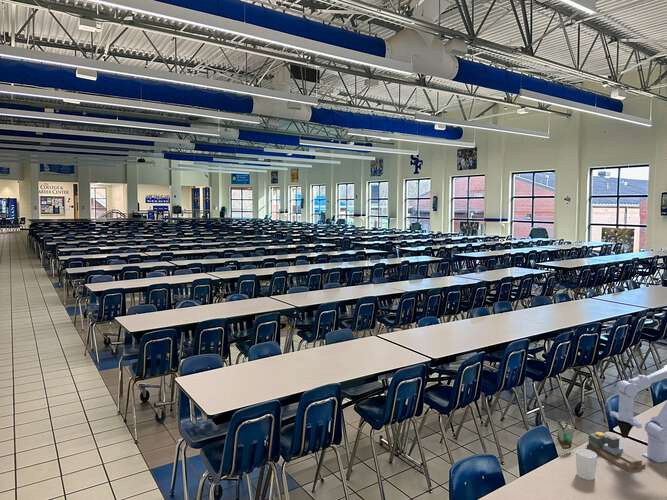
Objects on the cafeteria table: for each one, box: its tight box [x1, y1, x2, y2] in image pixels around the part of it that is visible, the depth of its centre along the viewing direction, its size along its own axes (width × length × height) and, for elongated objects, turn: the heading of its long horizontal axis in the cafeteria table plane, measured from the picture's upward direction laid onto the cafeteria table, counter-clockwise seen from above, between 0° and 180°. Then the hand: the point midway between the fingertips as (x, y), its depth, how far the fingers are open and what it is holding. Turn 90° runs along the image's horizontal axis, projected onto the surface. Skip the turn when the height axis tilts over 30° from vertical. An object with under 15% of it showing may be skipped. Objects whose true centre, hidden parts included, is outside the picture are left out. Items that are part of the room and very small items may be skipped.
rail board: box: [586, 431, 646, 472], centre depth 218 cm, size 10×22×6 cm, turn 18°
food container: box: [556, 419, 576, 450], centre depth 229 cm, size 12×6×10 cm, turn 168°
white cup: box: [575, 448, 598, 481], centre depth 201 cm, size 8×8×10 cm
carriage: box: [603, 435, 624, 456], centre depth 219 cm, size 5×6×7 cm
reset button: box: [594, 431, 606, 437], centre depth 226 cm, size 4×4×5 cm
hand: (624, 437), depth 217 cm, fingers closed
